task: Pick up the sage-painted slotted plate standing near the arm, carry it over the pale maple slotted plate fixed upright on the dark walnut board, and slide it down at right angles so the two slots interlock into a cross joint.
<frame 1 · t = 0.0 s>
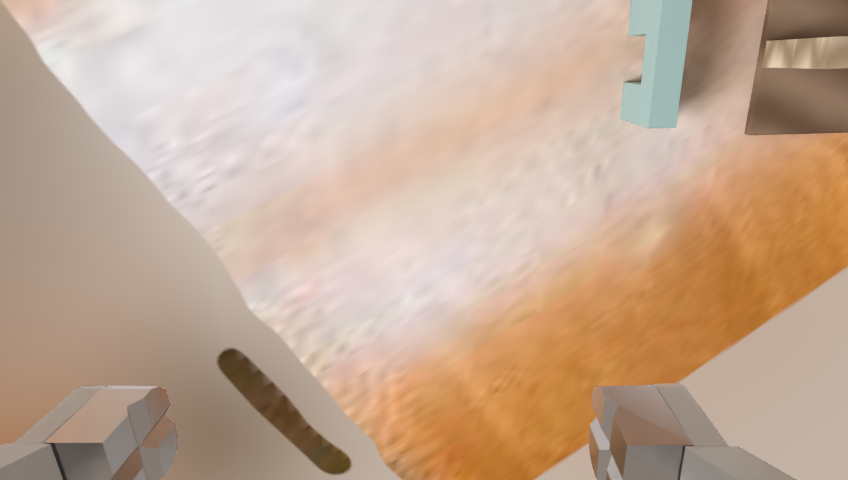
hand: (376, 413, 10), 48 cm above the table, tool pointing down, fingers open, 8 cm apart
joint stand: (830, 51, 50), on the table
cross plate: (638, 59, 52), on the table
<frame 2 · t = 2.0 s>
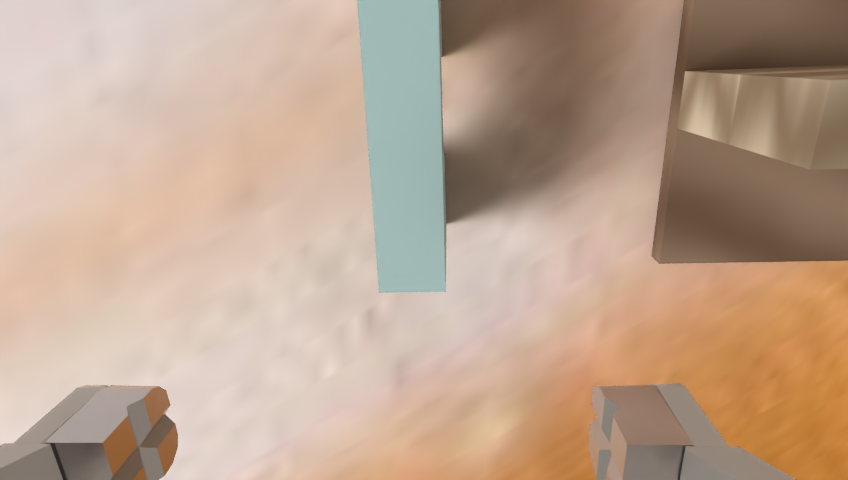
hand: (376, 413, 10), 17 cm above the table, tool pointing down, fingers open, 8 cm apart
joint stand: (826, 93, 23), on the table
cross plate: (417, 107, 24), on the table
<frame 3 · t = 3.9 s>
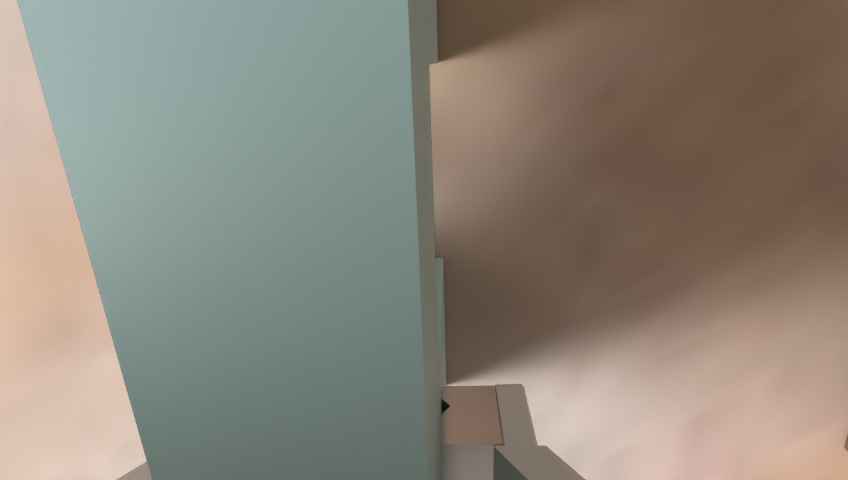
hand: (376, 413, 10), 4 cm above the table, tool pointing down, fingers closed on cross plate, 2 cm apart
cross plate: (386, 167, 12), on the table, touching gripper
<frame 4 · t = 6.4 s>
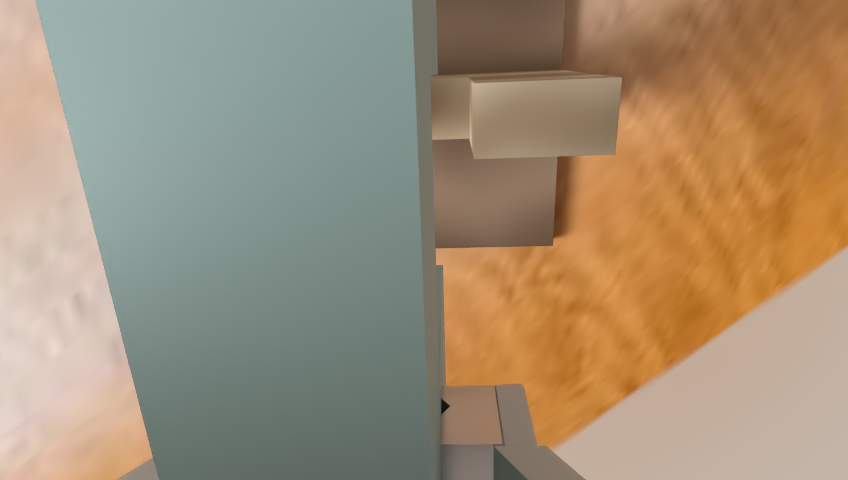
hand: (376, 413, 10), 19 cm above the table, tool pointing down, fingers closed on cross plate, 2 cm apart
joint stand: (421, 99, 26), on the table
cross plate: (387, 176, 12), point 16 cm above the table, touching gripper
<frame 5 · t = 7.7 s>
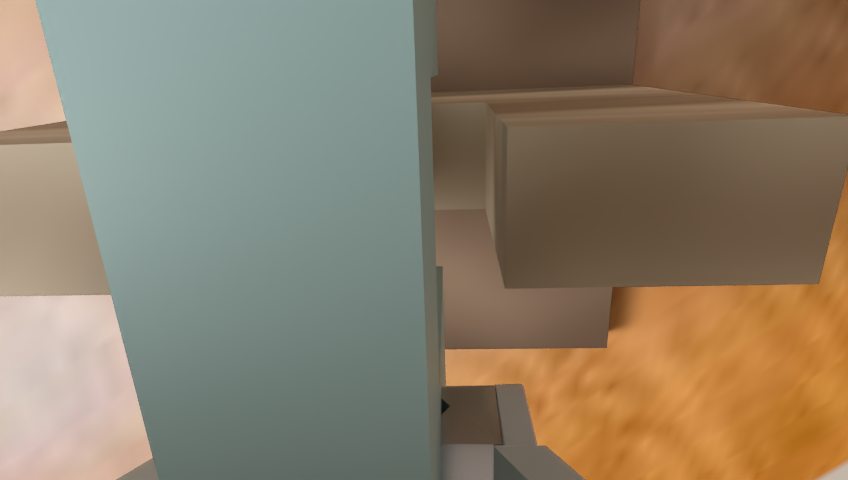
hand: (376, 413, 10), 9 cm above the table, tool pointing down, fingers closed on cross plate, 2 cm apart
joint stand: (408, 129, 17), on the table
cross plate: (387, 177, 12), point 6 cm above the table, touching gripper
when the fingers open (6 cm above the table, at t = 8.7 s): cross plate stays where it is, resting on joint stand.
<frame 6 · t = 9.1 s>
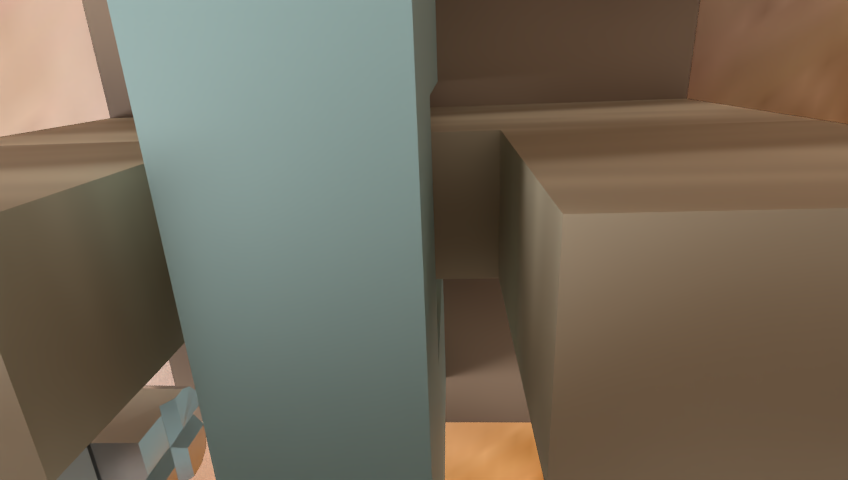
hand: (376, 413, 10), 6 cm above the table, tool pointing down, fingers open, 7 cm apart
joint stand: (396, 153, 13), on the table
cross plate: (390, 176, 13), point 1 cm above the table, touching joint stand
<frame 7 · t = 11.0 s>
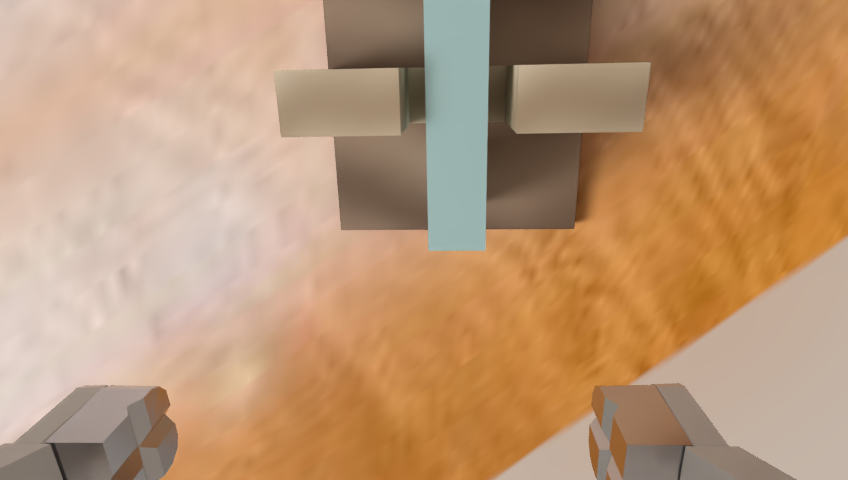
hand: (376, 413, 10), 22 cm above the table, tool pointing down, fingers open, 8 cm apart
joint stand: (455, 90, 28), on the table
cross plate: (455, 98, 28), point 1 cm above the table, touching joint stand
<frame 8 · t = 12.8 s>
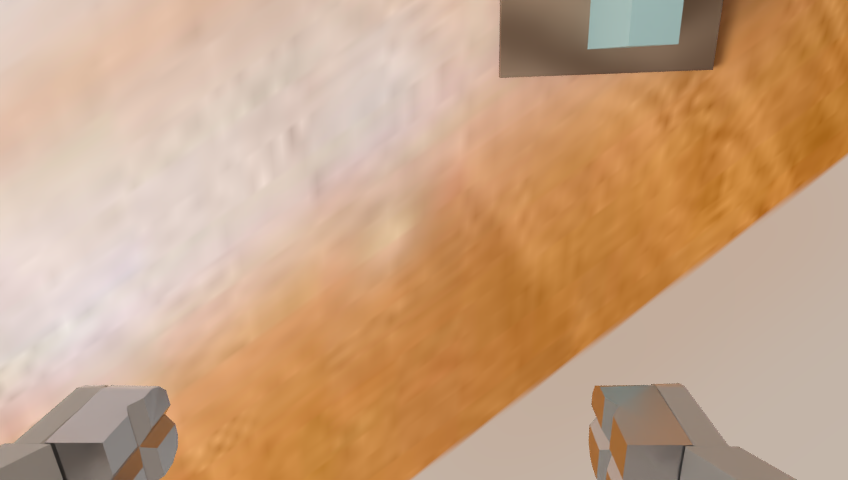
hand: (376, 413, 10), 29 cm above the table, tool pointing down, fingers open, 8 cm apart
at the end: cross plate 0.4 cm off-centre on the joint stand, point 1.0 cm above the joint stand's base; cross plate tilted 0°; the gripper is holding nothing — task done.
